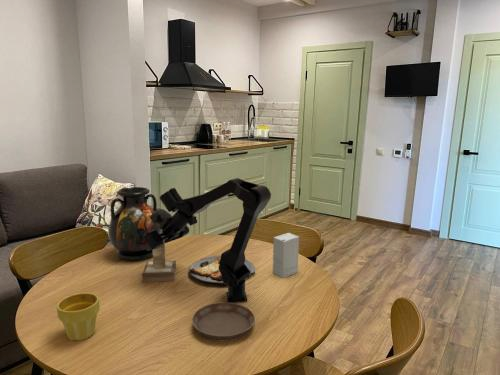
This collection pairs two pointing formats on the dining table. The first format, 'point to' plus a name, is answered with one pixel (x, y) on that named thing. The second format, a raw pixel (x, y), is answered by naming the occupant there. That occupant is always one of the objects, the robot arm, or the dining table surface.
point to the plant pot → (79, 314)
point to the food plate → (211, 269)
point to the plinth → (159, 272)
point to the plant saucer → (223, 321)
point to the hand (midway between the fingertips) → (155, 245)
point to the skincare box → (285, 255)
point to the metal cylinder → (159, 257)
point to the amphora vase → (132, 223)
